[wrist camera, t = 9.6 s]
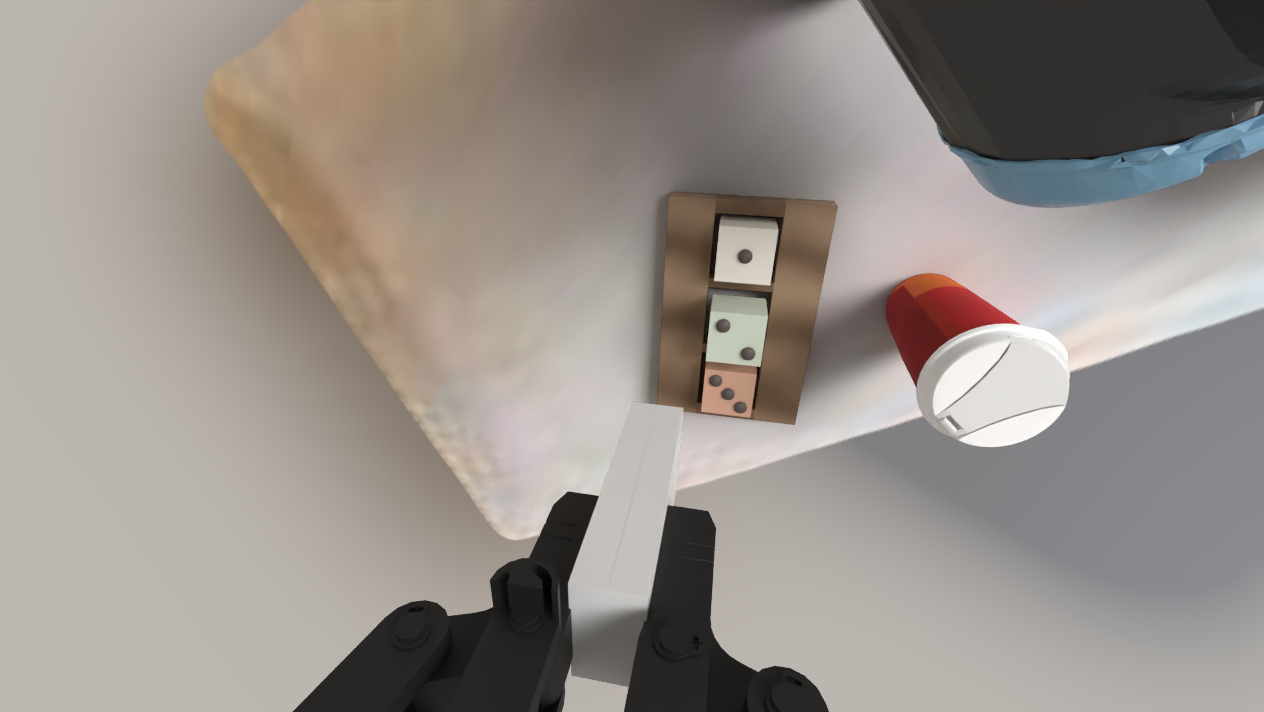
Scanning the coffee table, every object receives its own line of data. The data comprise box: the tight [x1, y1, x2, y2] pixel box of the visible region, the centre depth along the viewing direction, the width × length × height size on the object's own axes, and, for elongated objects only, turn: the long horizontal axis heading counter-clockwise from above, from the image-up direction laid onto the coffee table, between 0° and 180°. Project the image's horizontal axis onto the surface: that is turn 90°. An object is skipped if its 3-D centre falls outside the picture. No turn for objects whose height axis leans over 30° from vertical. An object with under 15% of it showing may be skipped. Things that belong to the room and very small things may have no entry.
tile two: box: [706, 294, 768, 367], centre depth 44 cm, size 4×4×4 cm
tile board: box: [657, 192, 838, 425], centre depth 47 cm, size 20×13×2 cm, turn 178°
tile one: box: [714, 215, 778, 286], centre depth 43 cm, size 4×4×4 cm
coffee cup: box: [886, 273, 1070, 447], centre depth 38 cm, size 8×8×15 cm
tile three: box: [701, 361, 757, 418], centre depth 48 cm, size 4×4×4 cm
